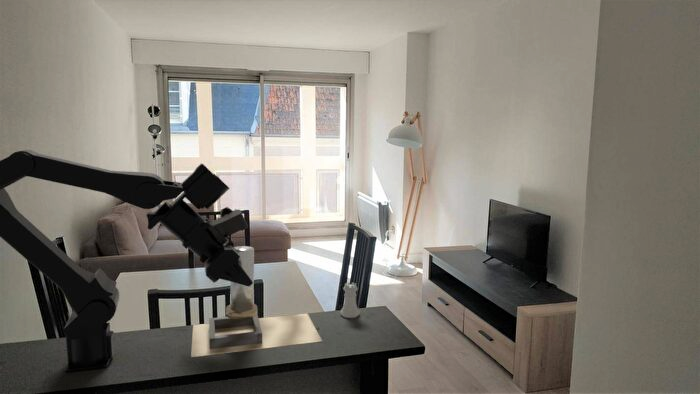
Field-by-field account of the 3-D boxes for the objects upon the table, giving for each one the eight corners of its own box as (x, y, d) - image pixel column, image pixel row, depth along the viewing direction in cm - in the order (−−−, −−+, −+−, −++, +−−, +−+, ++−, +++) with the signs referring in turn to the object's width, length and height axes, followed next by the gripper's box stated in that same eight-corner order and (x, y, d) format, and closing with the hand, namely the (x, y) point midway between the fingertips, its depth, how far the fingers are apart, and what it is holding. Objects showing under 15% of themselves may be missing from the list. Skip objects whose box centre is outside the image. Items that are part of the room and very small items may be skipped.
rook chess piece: (351, 324, 98) (352, 289, 97) (335, 319, 101) (336, 284, 100) (363, 318, 102) (364, 283, 100) (348, 313, 104) (348, 279, 103)
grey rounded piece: (226, 320, 86) (227, 253, 84) (225, 308, 91) (225, 245, 90) (258, 318, 88) (260, 252, 86) (255, 306, 93) (256, 244, 92)
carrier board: (191, 362, 81) (190, 346, 81) (193, 329, 94) (192, 315, 94) (322, 346, 88) (322, 331, 88) (307, 317, 101) (307, 304, 101)
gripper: (227, 203, 76) (289, 263, 82) (216, 190, 94) (269, 240, 99) (177, 252, 75) (244, 310, 80) (176, 228, 92) (231, 277, 97)
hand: (249, 280), depth 89 cm, fingers closed on grey rounded piece, 4 cm apart
